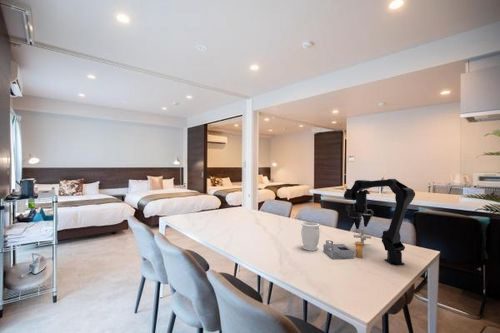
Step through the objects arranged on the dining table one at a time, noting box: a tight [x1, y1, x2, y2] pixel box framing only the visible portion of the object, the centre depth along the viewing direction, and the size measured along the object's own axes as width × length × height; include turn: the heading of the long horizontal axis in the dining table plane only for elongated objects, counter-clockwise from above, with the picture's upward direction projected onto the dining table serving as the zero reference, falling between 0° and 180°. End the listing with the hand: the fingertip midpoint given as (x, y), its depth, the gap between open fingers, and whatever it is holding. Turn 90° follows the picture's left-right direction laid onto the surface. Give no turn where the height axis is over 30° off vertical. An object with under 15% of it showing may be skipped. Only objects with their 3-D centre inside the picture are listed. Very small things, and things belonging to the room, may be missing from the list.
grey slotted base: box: [323, 239, 355, 260], centre depth 133 cm, size 12×12×6 cm
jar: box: [301, 221, 321, 252], centre depth 143 cm, size 11×10×15 cm
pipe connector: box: [353, 227, 372, 246], centre depth 152 cm, size 10×10×10 cm
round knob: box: [355, 241, 364, 259], centre depth 130 cm, size 4×4×8 cm
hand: (361, 227), depth 140 cm, fingers open, 9 cm apart
